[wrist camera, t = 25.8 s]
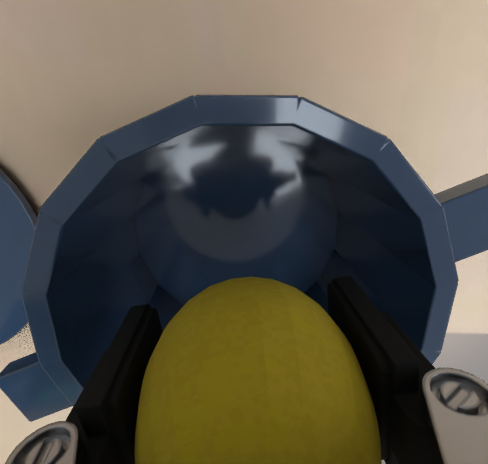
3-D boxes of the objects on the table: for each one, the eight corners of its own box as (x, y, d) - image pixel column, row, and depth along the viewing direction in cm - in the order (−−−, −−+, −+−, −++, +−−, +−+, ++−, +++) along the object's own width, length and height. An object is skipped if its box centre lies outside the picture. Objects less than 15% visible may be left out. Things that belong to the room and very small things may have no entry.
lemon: (291, 377, 13) (381, 734, 5) (158, 352, 12) (42, 724, 5) (338, 259, 11) (568, 532, 4) (188, 222, 11) (88, 465, 3)
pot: (43, 187, 19) (-155, 252, 9) (350, 51, 18) (508, -49, 8) (154, 361, 24) (101, 529, 14) (406, 265, 22) (550, 378, 12)
